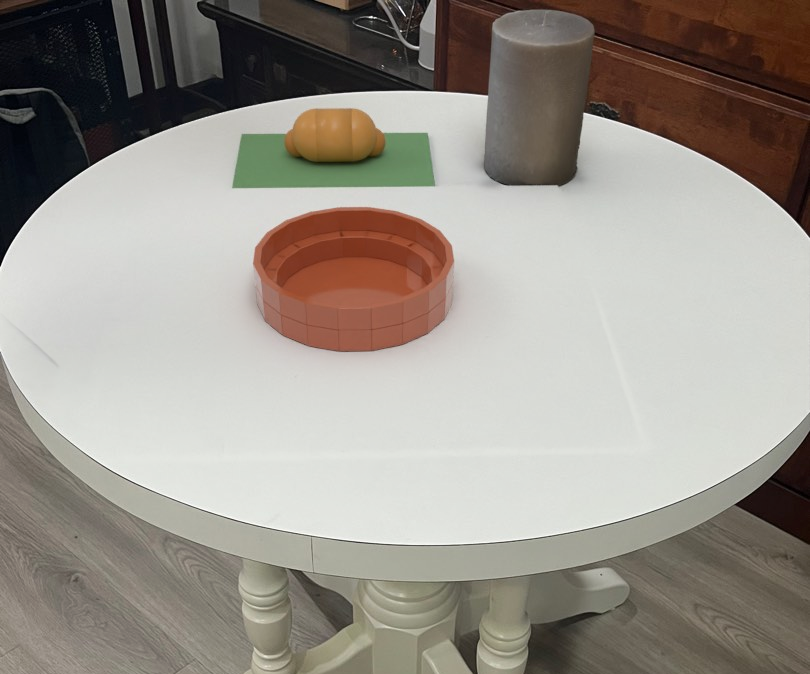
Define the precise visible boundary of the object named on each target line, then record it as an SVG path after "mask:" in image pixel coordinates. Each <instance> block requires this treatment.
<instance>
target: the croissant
mask: <svg viewBox="0 0 810 674" xmlns="http://www.w3.org/2000/svg"><path fill="white" fill-rule="evenodd" d="M383 133H384V132H383V131H382V130H381V129H380V128H377V127H376V123H375V122H374V120H373V118H371V116H370V115H369V114H367V112H365V111H363V110H362V109H359V108H353V107H351V108H349V107H346V108H345V107H342V108H340V107H339V108H336V107H335V108H334V107H333V108H327V107H326V108H310V109H308V110H307V109H306V110H305V111H303V112H302V113H300V114H299V115H298V116H297V118H296V119H295V120H294V123H293V125H292V128H291V129H289V130H288V131H287V132H286V133H285V134H286V136H285V139H284V145H285V148H286V150H287V152H288V153H289V154H291V155H292V156H294V157H304V158H306V159H307V160H310V161H314V162H354V161H359V160H362V159H364V158H366V157H367V156H371V157H373V156H377V155H379V154H380V153H381V152H382V151H383V150H384V148H385V144H386V140H385V136H384V134H383Z"/></svg>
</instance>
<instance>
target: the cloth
mask: <svg viewBox="0 0 810 674" xmlns="http://www.w3.org/2000/svg"><path fill="white" fill-rule="evenodd" d="M382 133H383V134H384V136H385V140H386V144H385V148H384V150H383V151H382V152H381V153H380V154H379V155H377V156H373V157H371V156H367V157H366V158H364V159H362V160H359V161H354V162H314V161H310V160H307V159H306V158H304V157H294V156H292V155H291V154H289V153H288V152H287V150H286V148H285V145H284V139H285V136H286V134H287V133H241V136H240V141H239V148H238V153H237V154H238V155H237V158H236V164H235V170H234V176H233V182H232V187H231V189H298V188H299V189H302V188H303V189H304V188H305V189H307V188H308V189H309V188H311V189H312V188H401V187H402V188H409V187H411V188H415V187H416V188H417V187H419V188H421V187H423V188H424V187H425V188H427V187H428V188H429V187H436V184H435V177H434V169H433V162H432V156H431V155H432V154H431V148H430V140H429V139H430V138H429V132H382Z"/></svg>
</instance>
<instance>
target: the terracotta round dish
mask: <svg viewBox="0 0 810 674" xmlns="http://www.w3.org/2000/svg"><path fill="white" fill-rule="evenodd" d="M454 257H455V256H454V250H453V245H452V244H451V242H450V241H449V240H448V239H447V237H446V236H445V235H444V233H442V231H441V230H440V229H438V228H437V227H435V226H434V225H431V224H430V223H429V222H427V221H425V220H424V219H421V218H419V217H417V216H414V215H413V216H412V215H409V214H406V213H404V212H400V211H399V210H393V209H385V208H379V207H372V206H338V207H332V208H325V209H320V210H319V209H318V210H314V211H313V210H312V211H309V212H306V213H303V214H300V215H296V216H294V217H292V218H288V219H286V220H284V221H282V222H281V223H279V224H278V225H276V226H274V227H273V228H272V229H270V230H268V231H266V233H265V234H264V235H263V237H262V238H261V239H260V240H259V242H258V243H257V245H256V246H255V247H254V253H253V261H252V267H253V277H254V284H255V294H256V302H257V307H258V308H259V311H260V313H261V315H262V317H263V319H264V320H265V322H266V323H267V324H268V325H269V326H270V327H272V328H273V329H274V330H276V332H278V333H279V334H280V335H282V336H284V337H286V338H288V339H290V340H293V341H296V342H298V343H301V344H303V345H306V346H308V347H312V348H318V349H323V350H324V349H325V350H329V351H335V352H371V351H372V352H373V351H378V350H382V349H387V348H391V347H396V346H397V347H398V346H402V345H405V344H408V343H409V342H411V341H414V340H416V339H418V338H420V337H423V336H425V335H428V334H429V333H430V332H431V331H432V330H434V328H436V327H437V326H439V324H440V323H442V322H443V321H444V320H445V319H446V317H447V314H448V313H449V311H450V308H451V306H452V304H453V292H454V273H455V272H454V271H455V259H454Z"/></svg>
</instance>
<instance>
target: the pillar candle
mask: <svg viewBox="0 0 810 674" xmlns="http://www.w3.org/2000/svg"><path fill="white" fill-rule="evenodd" d="M491 27H492V28H491V45H490V46H491V47H490V59H489V60H490V61H489V75H488V89H487V90H488V92H487V105H486V107H487V108H486V119H485V136H484V137H485V138H484V155H483V167H484V170H485V173H486V174H487V175H488V176H489V177H490V178H491V179H493V180H494V181H496V182H499V183H500V184H503V185H508V186H511V187H521V186H522V187H524V186H525V187H526V186H527V187H528V186H529V187H530V186H531V187H533V186H561V185H565V184H566V183H569V182H570V181H571V180H572V179H574V178H575V176H576V174H577V172H578V158H579V149H580V145H581V137H582V130H583V123H584V113H585V106H586V100H587V95H588V86H589V77H590V72H591V63H592V56H593V48H594V39H595V33H596V32H595V27H594V24H593V23H592V22H591V21H589V19H587V18H585V17H583V16H581V15H577V14H576V13H575V14H574V13H571V12H566V11H560V10H554V9H529V10H528V9H527V10H515V11H513V12H507V13H505V14H503V15H502V16H501V17H498V18H496V19H495V20H494V21H493V22H492V26H491Z"/></svg>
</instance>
